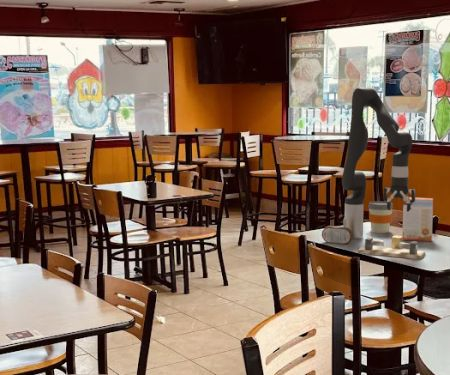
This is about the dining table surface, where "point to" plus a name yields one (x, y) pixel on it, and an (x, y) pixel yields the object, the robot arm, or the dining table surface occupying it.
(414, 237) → the cracker box
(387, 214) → the reusable coffee cup
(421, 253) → the shaft rig
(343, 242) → the tin
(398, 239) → the coupler
